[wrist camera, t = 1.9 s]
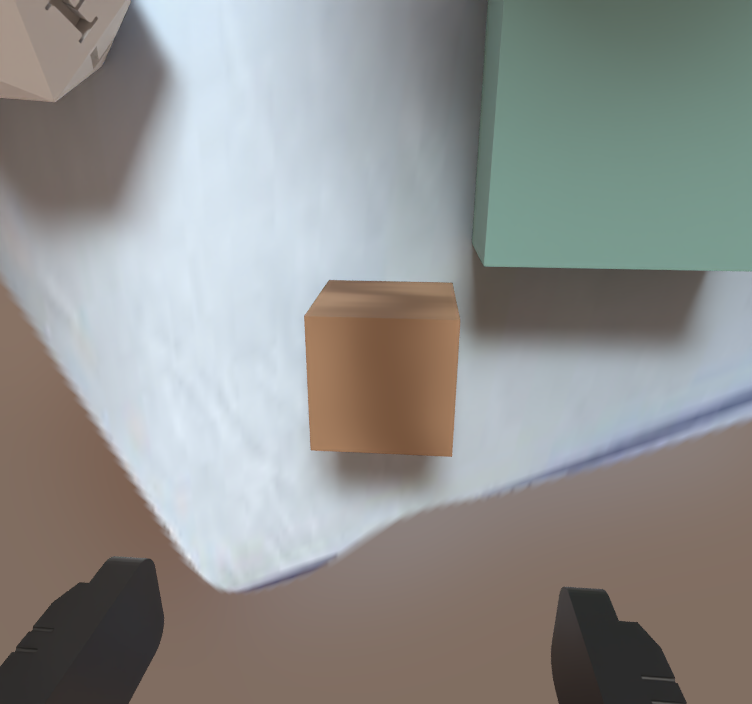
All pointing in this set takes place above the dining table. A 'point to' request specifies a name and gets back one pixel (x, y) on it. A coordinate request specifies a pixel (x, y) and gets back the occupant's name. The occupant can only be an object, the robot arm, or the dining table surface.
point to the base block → (616, 135)
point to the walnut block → (382, 367)
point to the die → (54, 44)
